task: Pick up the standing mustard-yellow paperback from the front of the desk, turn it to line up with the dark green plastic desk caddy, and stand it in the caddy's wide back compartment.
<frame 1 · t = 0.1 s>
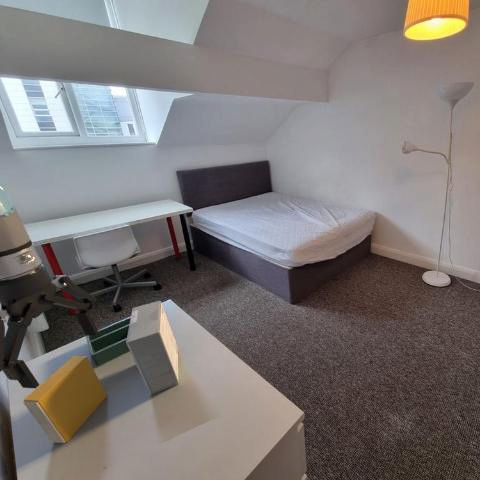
hand: (65, 357, 57), 24 cm above the table, tool pointing down, fingers open, 13 cm apart
caddy: (123, 342, 93), on the table
book: (82, 416, 69), on the table
hard drive box: (165, 370, 82), on the table
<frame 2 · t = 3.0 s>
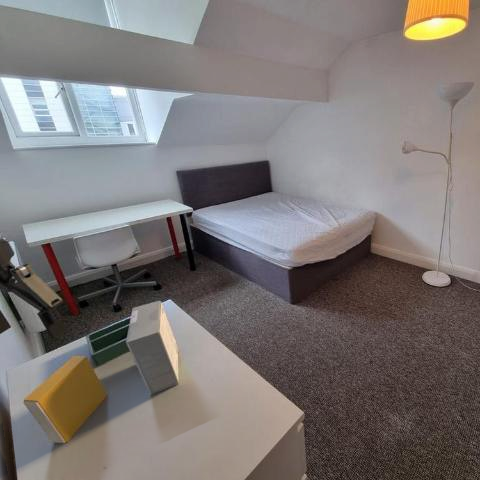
hand: (30, 332, 58), 28 cm above the table, tool pointing down, fingers open, 13 cm apart
nothing on the table moved.
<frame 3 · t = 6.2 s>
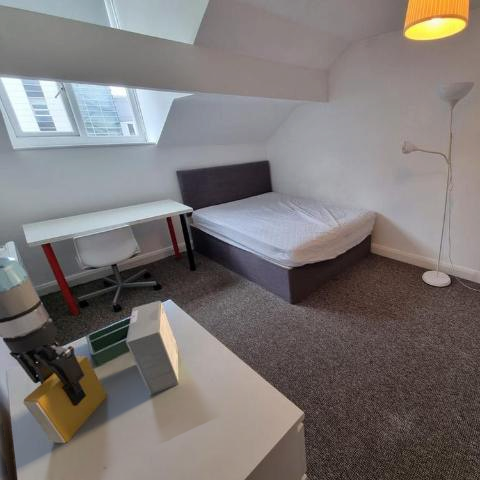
hand: (72, 399, 67), 7 cm above the table, tool pointing down, fingers closed on book, 3 cm apart
book: (82, 416, 69), on the table, touching gripper
everything else where it was.
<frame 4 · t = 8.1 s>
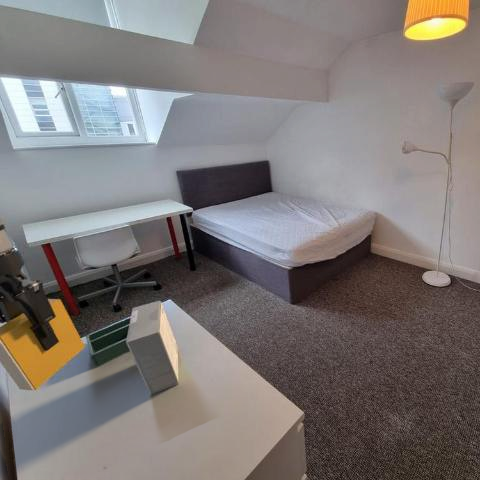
hand: (43, 345, 61), 24 cm above the table, tool pointing down, fingers closed on book, 3 cm apart
book: (56, 366, 63), point 17 cm above the table, touching gripper
everything else where it was.
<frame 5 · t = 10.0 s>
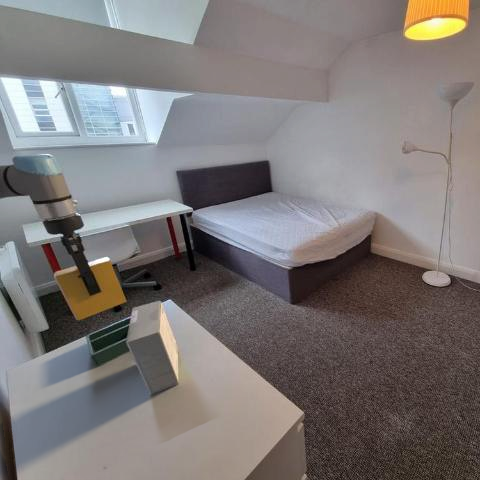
hand: (94, 290, 80), 24 cm above the table, tool pointing down, fingers closed on book, 3 cm apart
book: (102, 308, 82), point 18 cm above the table, touching gripper
everything else where it was.
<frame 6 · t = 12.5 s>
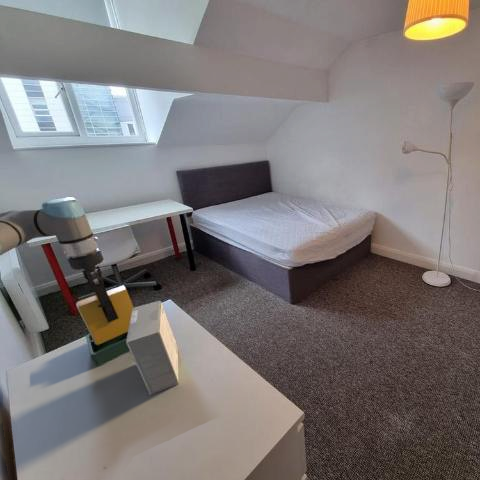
hand: (111, 316, 86), 13 cm above the table, tool pointing down, fingers closed on book, 3 cm apart
book: (119, 332, 89), point 6 cm above the table, touching gripper
everything else where it was.
when the fingers open (7 cm above the table, at t = 14.0 s): book stays where it is, resting on caddy.
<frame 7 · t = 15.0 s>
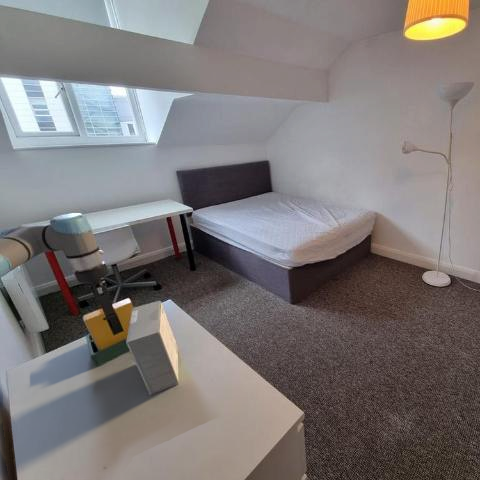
hand: (114, 322, 87), 10 cm above the table, tool pointing down, fingers open, 13 cm apart
book: (124, 344, 91), point 1 cm above the table, touching caddy
everything else where it was.
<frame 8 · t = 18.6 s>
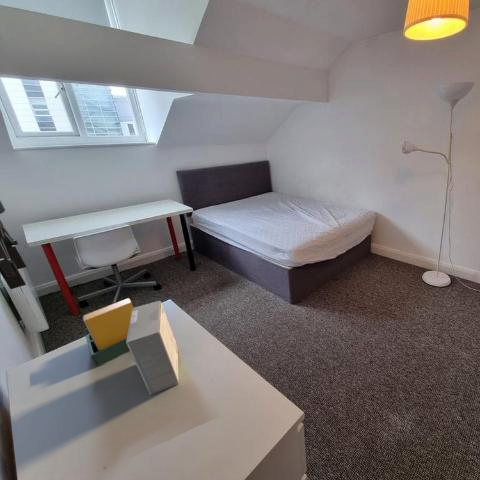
hand: (19, 277, 71), 33 cm above the table, tool pointing down, fingers open, 13 cm apart
nothing on the table moved.
at the end: book 0.0 cm from the target spot on the caddy, point 0.8 cm above the caddy's base; book tilted 0°; the gripper is holding nothing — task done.
